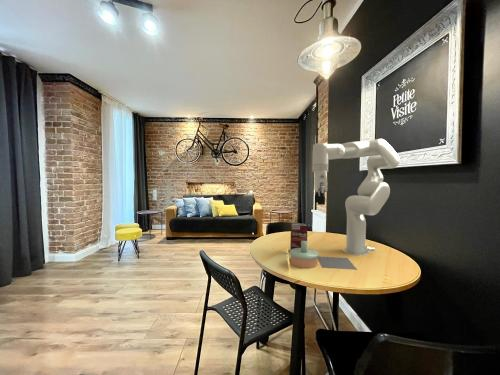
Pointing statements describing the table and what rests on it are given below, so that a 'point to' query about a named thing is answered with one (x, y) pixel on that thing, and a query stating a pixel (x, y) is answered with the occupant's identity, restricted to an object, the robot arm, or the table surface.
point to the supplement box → (298, 235)
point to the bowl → (304, 262)
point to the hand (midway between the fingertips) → (319, 203)
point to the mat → (336, 263)
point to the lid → (304, 252)
